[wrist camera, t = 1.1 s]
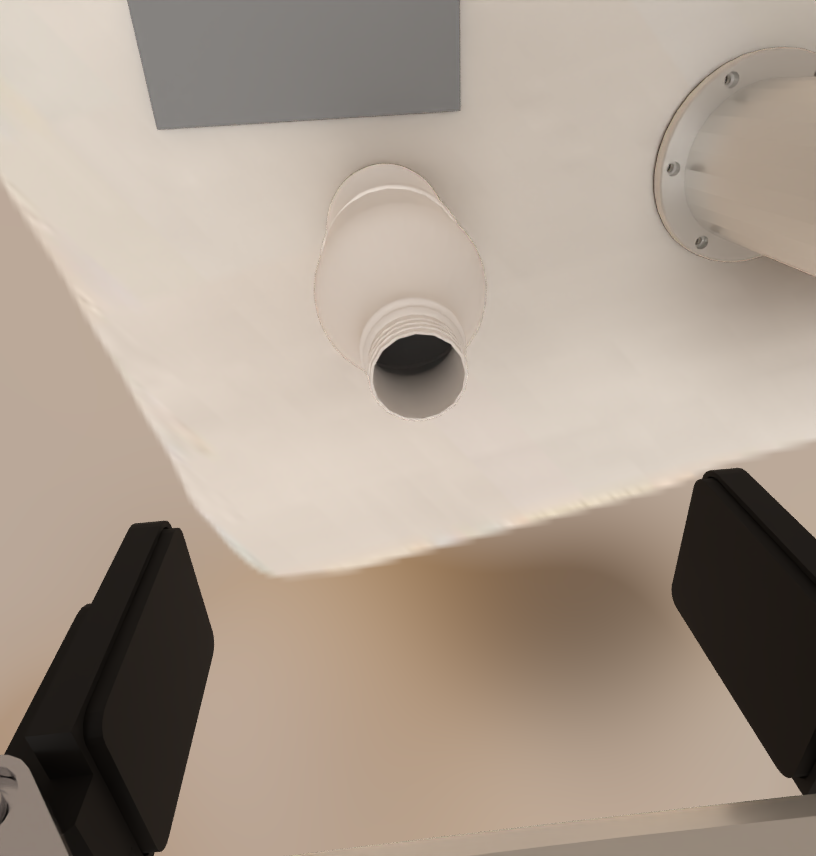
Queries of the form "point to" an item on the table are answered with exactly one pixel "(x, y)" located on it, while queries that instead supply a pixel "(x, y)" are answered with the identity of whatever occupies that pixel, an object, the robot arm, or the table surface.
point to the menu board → (296, 59)
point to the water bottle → (400, 290)
